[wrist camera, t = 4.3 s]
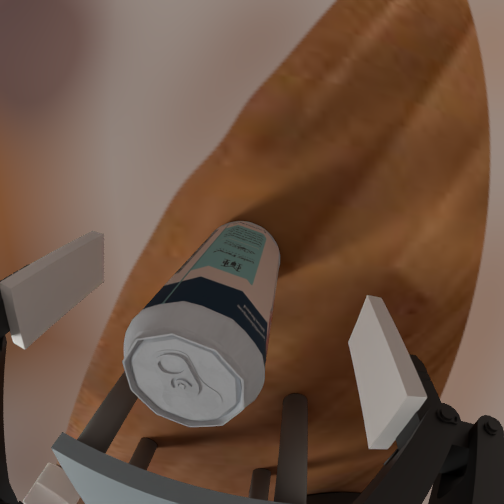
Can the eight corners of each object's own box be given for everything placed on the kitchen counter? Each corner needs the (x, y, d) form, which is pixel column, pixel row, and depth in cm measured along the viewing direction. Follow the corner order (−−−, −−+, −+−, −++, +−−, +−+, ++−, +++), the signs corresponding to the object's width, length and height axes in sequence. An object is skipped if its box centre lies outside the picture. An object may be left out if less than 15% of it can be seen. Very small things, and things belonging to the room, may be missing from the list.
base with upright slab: (86, 483, 38) (62, 526, 27) (83, 493, 41) (62, 531, 30) (46, 457, 38) (19, 497, 27) (48, 470, 41) (25, 505, 30)
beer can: (220, 296, 21) (153, 435, 10) (195, 231, 20) (86, 331, 8) (289, 280, 20) (280, 430, 8) (268, 209, 19) (228, 304, 7)
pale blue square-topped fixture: (318, 392, 23) (321, 526, 11) (271, 480, 28) (259, 567, 17) (128, 344, 23) (51, 447, 12) (137, 445, 29) (99, 522, 17)
